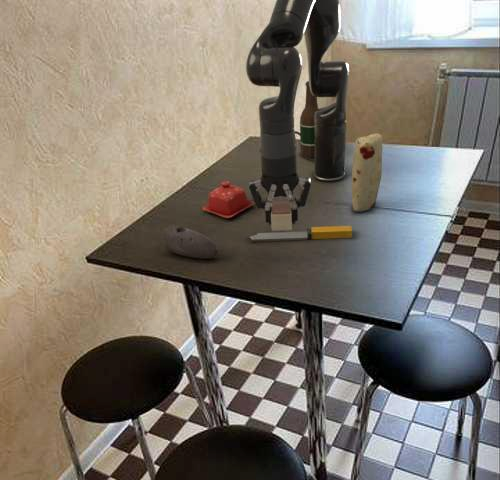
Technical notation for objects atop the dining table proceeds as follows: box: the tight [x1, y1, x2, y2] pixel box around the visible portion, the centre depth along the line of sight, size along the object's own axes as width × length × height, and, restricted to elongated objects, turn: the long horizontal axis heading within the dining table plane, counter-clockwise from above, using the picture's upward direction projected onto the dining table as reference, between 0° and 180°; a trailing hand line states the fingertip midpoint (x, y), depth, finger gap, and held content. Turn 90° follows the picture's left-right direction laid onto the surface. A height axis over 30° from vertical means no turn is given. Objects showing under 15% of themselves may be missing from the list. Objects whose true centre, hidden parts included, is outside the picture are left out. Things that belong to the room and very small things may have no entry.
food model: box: [351, 133, 383, 212], centre depth 129 cm, size 10×7×20 cm
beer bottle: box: [299, 80, 320, 159], centre depth 163 cm, size 8×8×24 cm
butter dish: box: [202, 180, 255, 219], centre depth 138 cm, size 12×12×8 cm
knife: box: [249, 225, 353, 243], centre depth 124 cm, size 26×3×2 cm, turn 86°
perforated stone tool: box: [161, 224, 219, 260], centre depth 120 cm, size 15×5×7 cm, turn 60°
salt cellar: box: [270, 201, 293, 232], centre depth 112 cm, size 5×6×4 cm
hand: (281, 222), depth 113 cm, fingers closed on salt cellar, 4 cm apart
